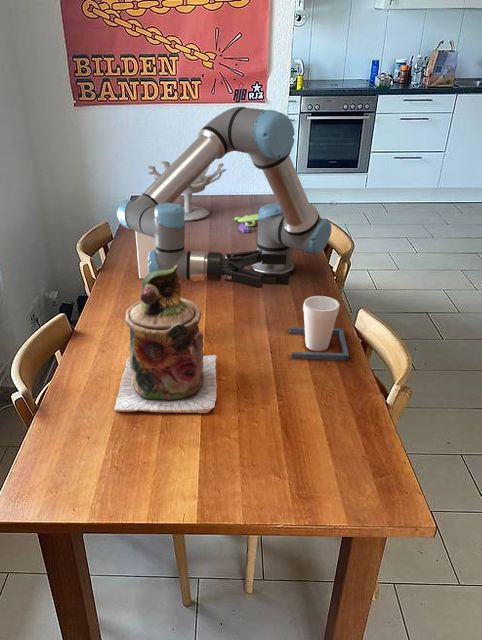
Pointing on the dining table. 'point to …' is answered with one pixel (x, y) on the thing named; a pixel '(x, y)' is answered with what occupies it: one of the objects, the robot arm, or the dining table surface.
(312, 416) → the dining table surface
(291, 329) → the bay
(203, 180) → the candelabra
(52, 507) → the dining table surface
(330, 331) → the foam cup
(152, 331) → the cookie jar
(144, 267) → the gable box
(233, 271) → the robot arm
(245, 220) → the toy airplane
